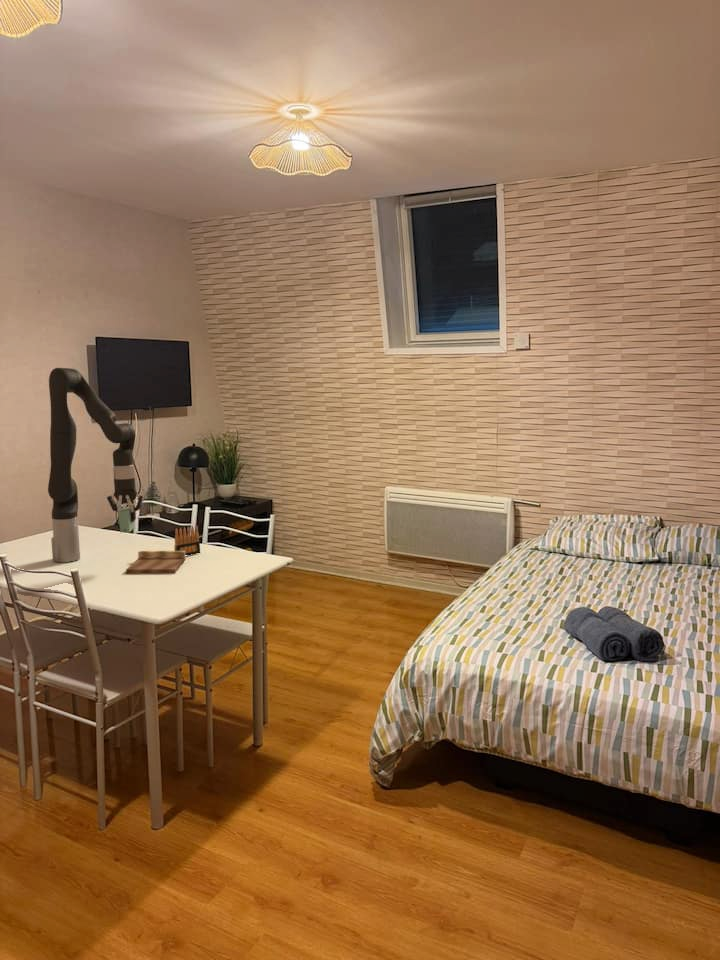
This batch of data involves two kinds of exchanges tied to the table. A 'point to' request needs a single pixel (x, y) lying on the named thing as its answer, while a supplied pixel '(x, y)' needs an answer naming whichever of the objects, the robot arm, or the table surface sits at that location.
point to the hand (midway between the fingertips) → (127, 521)
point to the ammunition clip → (187, 541)
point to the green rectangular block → (125, 520)
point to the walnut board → (157, 562)
